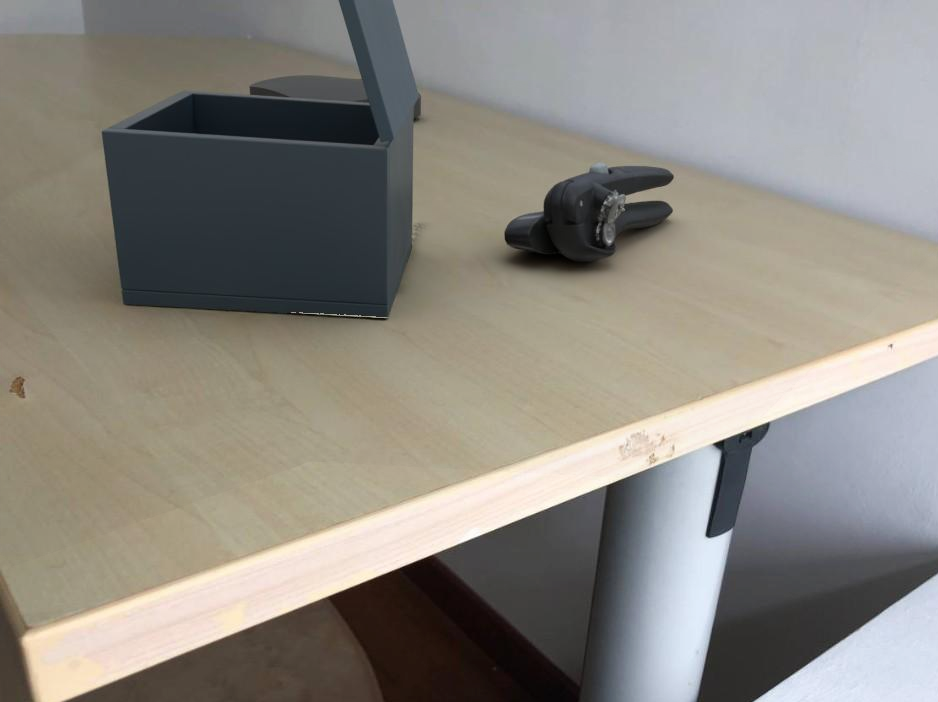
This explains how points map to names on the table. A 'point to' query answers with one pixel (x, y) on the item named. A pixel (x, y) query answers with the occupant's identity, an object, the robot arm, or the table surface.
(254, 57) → the table surface
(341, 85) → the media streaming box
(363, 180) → the bin
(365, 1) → the bin lid
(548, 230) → the can opener
